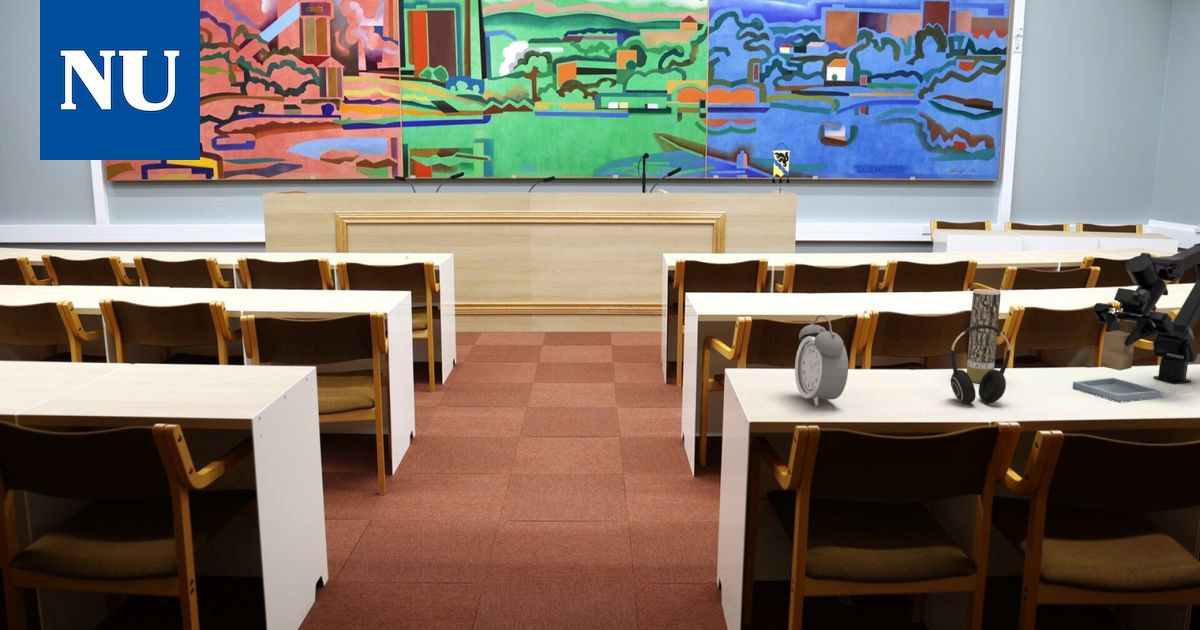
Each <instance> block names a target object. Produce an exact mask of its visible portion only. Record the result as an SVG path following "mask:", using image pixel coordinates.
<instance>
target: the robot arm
mask: <svg viewBox="0 0 1200 630" xmlns="http://www.w3.org/2000/svg"><path fill="white" fill-rule="evenodd" d="M1193 267H1195V268H1196V269H1195V273H1196V277H1197V280H1196V281H1195V283H1194V285H1193V287H1192V289H1191V290H1190V292H1189V293H1188V296H1187V297H1186V298H1185V300H1184V302H1183V304H1182V306H1181V307H1180V309H1179V311H1178V312H1177V314H1176V316H1175V318H1174V319H1173V321H1172V319H1171V317H1170V315H1169V314H1168V313H1169V312H1163V311H1162V312H1160V311H1157V308H1158V307H1157V306H1156V305H1157V303H1158V301H1159V300H1160V298H1161V297H1162V296H1168V295H1169V290H1168V288H1167V287H1168V286H1167V284H1166V282H1167V281H1168V282H1176V281H1178V280H1179V279H1180V278H1182V277H1184V274H1185V272H1184V271H1186V270H1189V269H1190V268H1193ZM1125 269H1126V271H1127V272H1128V274H1129V276H1130V279H1131V280H1132V282H1133V283H1134V284H1135V285H1136V286H1137V288H1136V289H1135V290H1134V289H1130V288H1124V287H1123V288H1122V287H1118V288H1117V290H1116V293H1115V296H1114V300H1113V301H1117V302H1118V303H1119V305H1118V306H1119V308H1120V309H1122V310H1117V308H1114V306H1113V305H1112V304H1109V303H1102V302H1096V303H1095V304H1094V305H1093V307H1092V308H1091V311H1092V312H1093V314H1094V316H1095V317H1096V319H1097V321H1098V322H1099V323H1101V324H1106V327H1105V332H1111V331H1119V330H1120V329H1121V325H1120V323H1119V321H1120V320H1123V321H1127V322H1131V323H1132V322H1133V323H1136V324H1135V325H1134V327H1133V329H1132V330H1131V332H1129V333H1130V335H1129V336H1128V338H1127V340H1126V342H1125V345H1126V346H1129V345H1131V344H1132V343H1134V344H1135V343H1136V342H1138V341H1140V340H1142V339H1145V338H1147V337H1148V336H1152V335H1154V338H1153V340H1152V346H1153V353H1154V354H1153V355H1154V357H1159V358H1161V359H1160V363H1159V367H1158V374H1157V375H1154V376H1153V379H1156V380H1160V381H1163V382H1168V383H1172V384H1183V383H1191V382H1192V379H1188V378H1187V373H1188V366H1189V363H1195V362H1196V360H1197V359H1198V358H1197V357H1198V354H1199V353H1198V351H1197V349H1196V347H1195V345H1194V341H1195V338H1194V334H1193V330H1194V328H1195V327H1196V325H1197V323H1198V322H1199V320H1200V243H1199V242H1198V243H1195V244H1193V245H1192V246H1191V247H1189V248H1187V249H1186V248H1185V249H1184V250H1182V251H1180V252H1178V253H1175V254H1173V255H1169V256H1163V255H1161V256H1156V257H1152V255H1151V253H1150V252H1141V253H1140V255H1137V256H1134V257H1132V258H1130V259H1129V260H1127V262H1126V263H1125ZM1165 281H1166V282H1165Z"/></svg>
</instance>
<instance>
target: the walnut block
mask: <svg viewBox="0 0 1200 630" xmlns="http://www.w3.org/2000/svg"><path fill="white" fill-rule="evenodd" d="M1103 333H1104V334H1103V342H1102V343H1103V344H1102V351H1101V360H1100V361H1101V362H1100V367H1102V368H1103V367H1104V368H1107V369H1112V370H1116V371H1124V370H1128V369H1132V368H1133V367H1132V366H1133V358H1134V350H1135V342H1134V343H1132V344H1131V345H1129V346H1126V345H1125V342H1126V340H1127V338H1128V336H1129V335H1130V333H1131V332H1124V331H1119V330H1118V331H1111V332H1106V331H1105V332H1103Z"/></svg>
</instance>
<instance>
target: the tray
mask: <svg viewBox="0 0 1200 630" xmlns="http://www.w3.org/2000/svg"><path fill="white" fill-rule="evenodd" d="M1072 389H1073V390H1077V391H1079V390H1080V392H1083V393H1086V392H1087V393H1086V394H1089V393H1090V394H1089V395H1092V394H1094V395H1093V396H1096V395H1097V396H1096V397H1099V396H1101V397H1100V398H1102V397H1105V398H1108V399H1111V400H1110V401H1112V400H1114V401H1113V402H1115V401H1117V402H1116V403H1118V402H1119V403H1122V402H1121V401H1127V402H1132V401H1131V400H1136V401H1141V400H1140V399H1145V400H1152V399H1153V398H1154V399H1160V398H1161V395H1162V391H1161V390H1160V389H1154V388H1152V387H1149V386H1144V385H1141V384H1137V383H1134V382H1131V381H1127V380H1123V379H1119V378H1117V377H1109V378H1108V377H1106V378H1100V379H1097V378H1096V379H1088V380H1079V381H1078V380H1077V381H1072ZM1105 398H1104V399H1105ZM1108 399H1107V400H1108Z"/></svg>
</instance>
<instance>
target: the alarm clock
mask: <svg viewBox="0 0 1200 630" xmlns="http://www.w3.org/2000/svg"><path fill="white" fill-rule="evenodd" d="M819 318H824V319H825V320H826V321H827V322H828V325H829V326H828V327H829V330H826V328H825V327H824V326H821V325H819V324H817V322H818V319H819ZM798 339H799V341H800V343H799V346H798V349H797V351H796V356H795V363H794V364H795V365H794V377H795V383H796V387H797V390H798V392H799V394H800V395H801V396H803V397H802V398H805V399H813V401H814V406H815V405H819V399H820V400H826V401H827V400H829V401H830V400H836V399H838V398H839V397H840V396H841V395H842V394H843V392H844V390H845V388H846V385H847V381H848V377H849V376H848V375H849V358H848V354H847V350H846V346H845V344H844V340H843V339H842V337H841V336H840V335H839V334H838V333H835V332H834V331H833V330H832V324H831V320H830V319H829V318H828V316H826V315H823V314H820V315H817V316H816V318H815V320H814V322H810V324H808V325H806V326H804V327H803V328H801V330H800V332H799V334H798Z"/></svg>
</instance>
